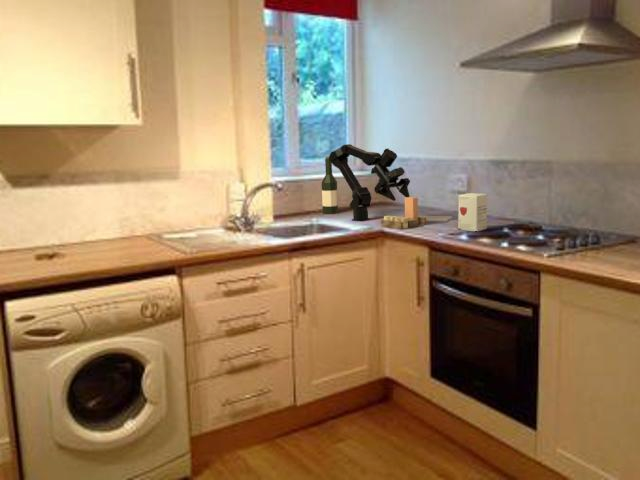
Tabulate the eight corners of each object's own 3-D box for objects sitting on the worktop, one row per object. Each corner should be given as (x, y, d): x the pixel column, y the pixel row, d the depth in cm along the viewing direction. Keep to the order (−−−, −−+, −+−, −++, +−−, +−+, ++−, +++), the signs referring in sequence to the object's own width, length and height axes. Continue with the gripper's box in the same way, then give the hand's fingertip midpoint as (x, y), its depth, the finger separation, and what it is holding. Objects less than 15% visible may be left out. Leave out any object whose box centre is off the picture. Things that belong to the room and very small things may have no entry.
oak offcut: (394, 227, 264) (394, 217, 263) (399, 226, 266) (399, 216, 265) (403, 228, 260) (403, 218, 259) (408, 228, 262) (407, 217, 261)
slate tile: (403, 223, 282) (403, 220, 282) (410, 218, 294) (410, 215, 294) (446, 224, 274) (446, 220, 274) (452, 219, 287) (452, 216, 286)
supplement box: (457, 230, 258) (457, 194, 255) (468, 227, 264) (468, 192, 261) (476, 231, 251) (476, 195, 249) (487, 228, 258) (487, 193, 255)
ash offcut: (384, 226, 269) (384, 216, 268) (389, 225, 271) (388, 215, 270) (392, 227, 265) (392, 217, 264) (397, 226, 267) (397, 216, 266)
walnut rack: (381, 229, 268) (381, 220, 268) (406, 224, 278) (406, 215, 277) (401, 231, 259) (401, 222, 258) (426, 226, 269) (426, 217, 268)
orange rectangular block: (405, 224, 272) (404, 197, 270) (409, 223, 274) (409, 196, 272) (413, 225, 269) (413, 198, 267) (418, 224, 271) (417, 197, 268)
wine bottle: (321, 212, 330) (319, 157, 325) (337, 211, 331) (335, 156, 325) (323, 214, 322) (321, 157, 316) (339, 213, 323) (337, 156, 317)
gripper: (377, 163, 269) (396, 189, 263) (406, 160, 281) (425, 185, 274) (366, 180, 277) (384, 206, 270) (394, 177, 288) (412, 201, 282)
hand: (402, 199), depth 274 cm, fingers open, 9 cm apart
